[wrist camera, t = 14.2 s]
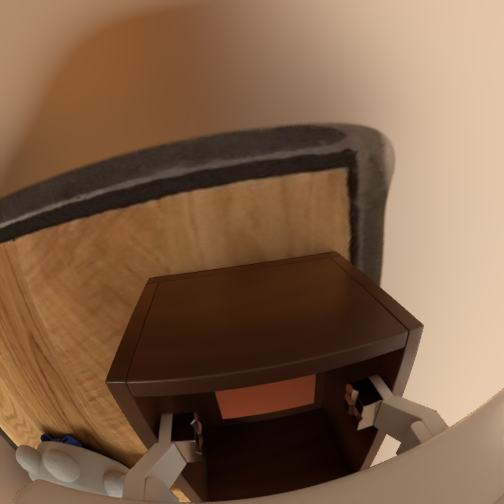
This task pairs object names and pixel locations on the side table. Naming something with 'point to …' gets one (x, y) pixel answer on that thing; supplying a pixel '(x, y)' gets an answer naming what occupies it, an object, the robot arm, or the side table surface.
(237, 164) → the side table surface
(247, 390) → the block
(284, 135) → the side table surface
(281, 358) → the chest
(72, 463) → the figurine
